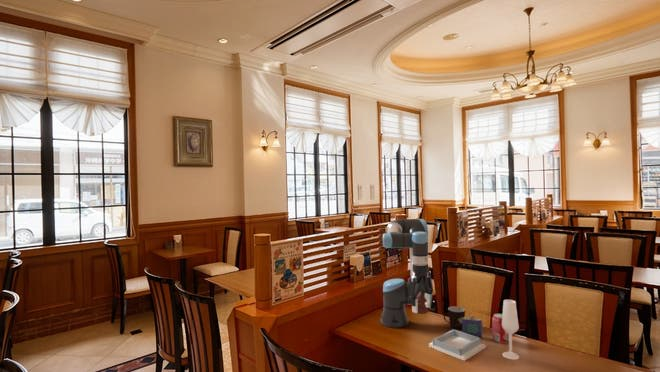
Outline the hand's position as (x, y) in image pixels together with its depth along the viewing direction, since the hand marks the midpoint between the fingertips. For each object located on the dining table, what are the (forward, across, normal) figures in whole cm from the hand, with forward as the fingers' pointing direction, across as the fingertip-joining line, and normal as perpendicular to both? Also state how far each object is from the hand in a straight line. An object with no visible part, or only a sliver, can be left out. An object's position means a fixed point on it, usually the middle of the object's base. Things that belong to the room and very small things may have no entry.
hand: (421, 309), depth 174 cm
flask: (+15, +22, -14) cm, 30 cm away
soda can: (+15, +28, -25) cm, 41 cm away
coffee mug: (+15, +25, -2) cm, 29 cm away
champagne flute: (+15, +16, -35) cm, 41 cm away
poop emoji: (+1, 0, 0) cm, 1 cm away
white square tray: (+15, +6, -15) cm, 22 cm away
